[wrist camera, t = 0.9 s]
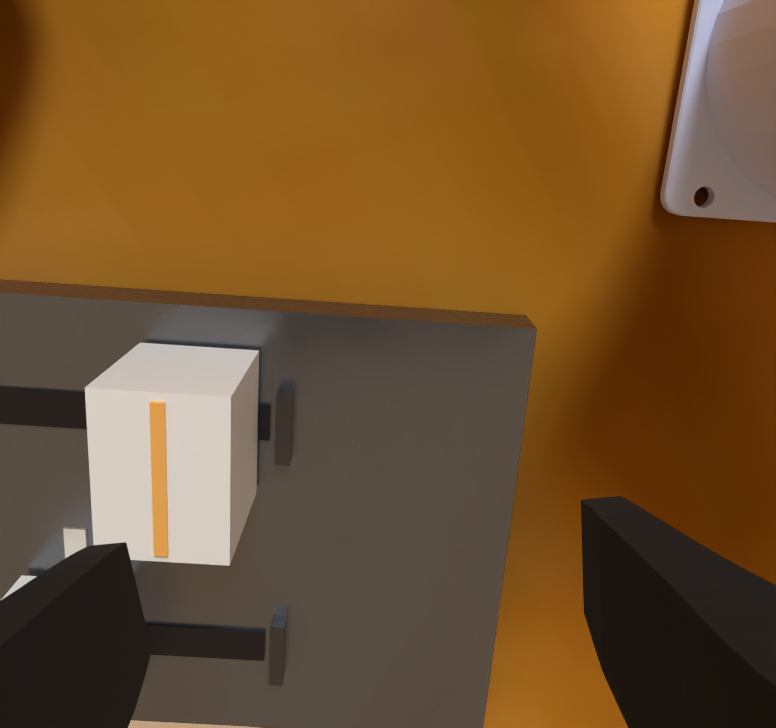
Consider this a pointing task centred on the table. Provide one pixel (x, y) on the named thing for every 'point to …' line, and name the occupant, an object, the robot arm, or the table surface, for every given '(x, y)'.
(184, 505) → the fader
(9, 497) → the console
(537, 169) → the table surface
